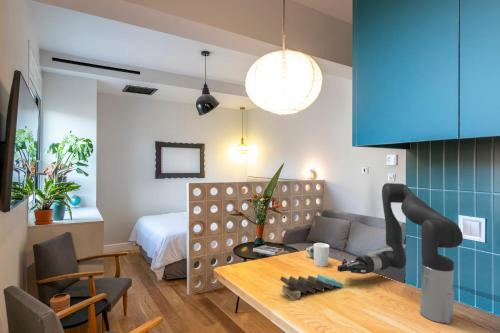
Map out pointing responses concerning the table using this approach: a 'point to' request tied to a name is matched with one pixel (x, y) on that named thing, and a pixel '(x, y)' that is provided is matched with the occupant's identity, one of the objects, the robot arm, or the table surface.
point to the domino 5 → (330, 281)
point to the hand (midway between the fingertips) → (338, 268)
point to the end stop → (291, 292)
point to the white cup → (321, 254)
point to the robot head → (310, 251)
